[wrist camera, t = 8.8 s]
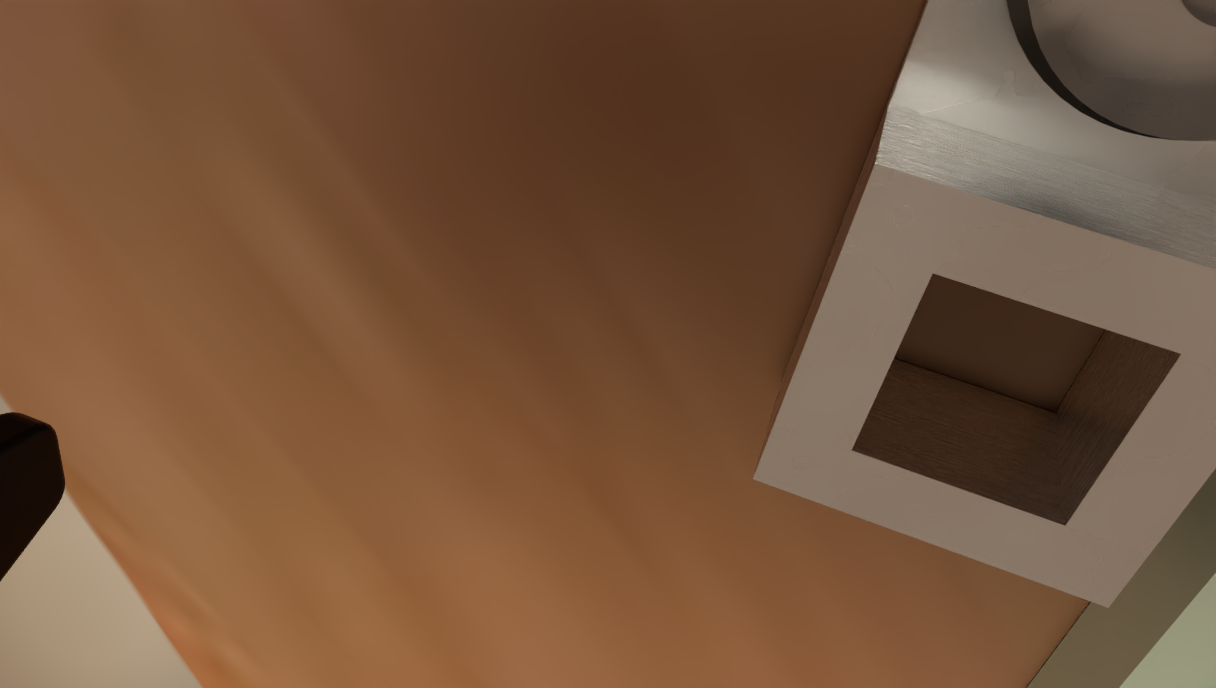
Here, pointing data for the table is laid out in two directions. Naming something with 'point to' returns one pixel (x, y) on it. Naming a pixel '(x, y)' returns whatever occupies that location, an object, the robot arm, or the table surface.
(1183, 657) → the tray
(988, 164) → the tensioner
